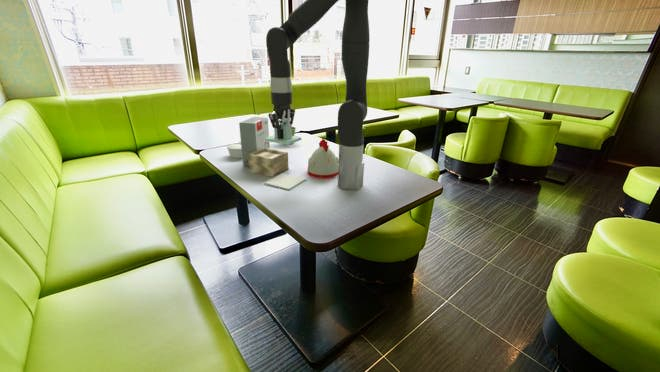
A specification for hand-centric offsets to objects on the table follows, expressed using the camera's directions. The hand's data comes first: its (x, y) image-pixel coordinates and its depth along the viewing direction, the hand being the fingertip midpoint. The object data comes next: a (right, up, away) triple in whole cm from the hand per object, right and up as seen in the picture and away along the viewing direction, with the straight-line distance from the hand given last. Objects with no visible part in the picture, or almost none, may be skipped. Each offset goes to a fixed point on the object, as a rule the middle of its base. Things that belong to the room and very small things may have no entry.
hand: (283, 137), depth 114 cm
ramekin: (-28, -3, +38) cm, 47 cm away
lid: (0, -1, 0) cm, 1 cm away
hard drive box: (-17, -7, +30) cm, 36 cm away
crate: (-9, -12, +19) cm, 24 cm away
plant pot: (-7, +6, +60) cm, 61 cm away
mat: (0, -17, +8) cm, 19 cm away
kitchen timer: (+15, -13, +18) cm, 27 cm away
